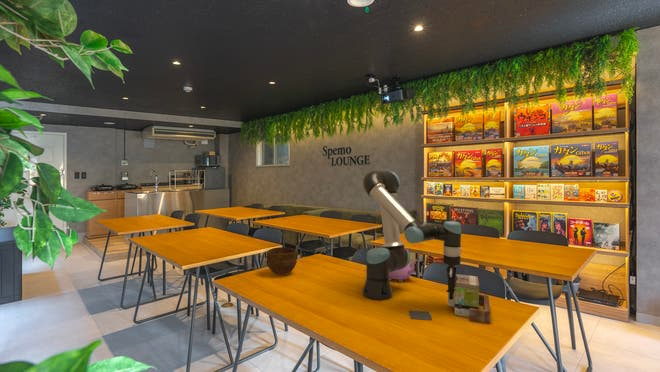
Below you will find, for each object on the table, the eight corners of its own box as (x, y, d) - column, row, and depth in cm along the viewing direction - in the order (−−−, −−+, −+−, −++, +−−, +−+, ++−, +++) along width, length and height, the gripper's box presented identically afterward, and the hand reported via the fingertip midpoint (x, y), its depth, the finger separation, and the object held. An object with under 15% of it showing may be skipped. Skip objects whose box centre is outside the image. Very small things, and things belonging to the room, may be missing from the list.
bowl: (295, 278, 200) (295, 253, 200) (263, 278, 201) (263, 253, 200) (298, 269, 219) (298, 247, 219) (269, 269, 219) (269, 246, 219)
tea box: (478, 319, 146) (479, 285, 146) (454, 315, 150) (454, 282, 149) (477, 306, 160) (477, 275, 160) (454, 303, 164) (455, 273, 163)
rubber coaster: (410, 320, 145) (410, 318, 145) (408, 312, 154) (408, 310, 154) (432, 321, 144) (432, 319, 144) (428, 313, 153) (428, 311, 153)
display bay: (469, 320, 144) (469, 309, 144) (470, 302, 164) (470, 292, 164) (489, 324, 141) (490, 312, 141) (488, 305, 161) (488, 295, 161)
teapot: (422, 279, 201) (422, 256, 200) (411, 286, 188) (412, 261, 188) (388, 272, 214) (389, 251, 213) (376, 278, 201) (377, 256, 201)
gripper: (460, 259, 149) (458, 311, 150) (461, 252, 161) (460, 301, 162) (442, 257, 152) (441, 309, 153) (444, 251, 164) (443, 299, 165)
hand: (450, 305), depth 157 cm, fingers closed
